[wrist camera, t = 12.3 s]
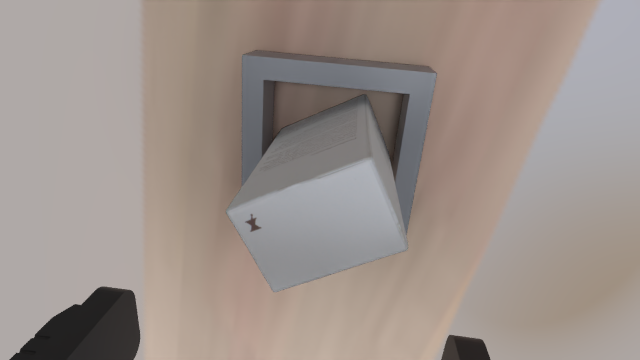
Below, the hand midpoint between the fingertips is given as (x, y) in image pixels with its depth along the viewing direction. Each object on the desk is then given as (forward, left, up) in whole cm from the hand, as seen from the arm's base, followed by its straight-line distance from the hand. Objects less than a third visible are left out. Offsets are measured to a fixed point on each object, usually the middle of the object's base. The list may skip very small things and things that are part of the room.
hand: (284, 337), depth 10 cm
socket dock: (0, 0, -17) cm, 17 cm away
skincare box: (0, 0, -17) cm, 17 cm away
